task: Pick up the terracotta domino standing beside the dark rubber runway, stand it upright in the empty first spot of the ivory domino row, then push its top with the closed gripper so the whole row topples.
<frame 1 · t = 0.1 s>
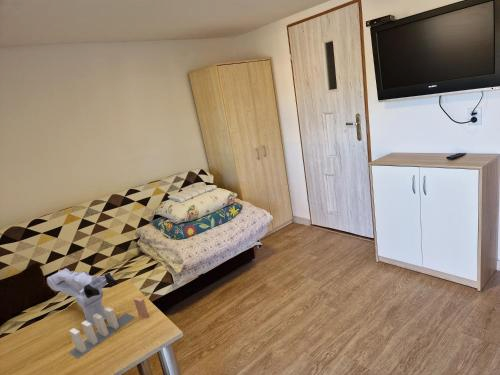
hand: (107, 287, 141), 21 cm above the table, tool horizontal, fingers open, 7 cm apart
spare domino: (143, 316, 154), on the table
domino 5: (81, 349, 139), resting on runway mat
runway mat: (104, 334, 146), on the table
domino 3: (103, 333, 146), resting on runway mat
domino 4: (92, 341, 143), resting on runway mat
domino 2: (114, 326, 150), resting on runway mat
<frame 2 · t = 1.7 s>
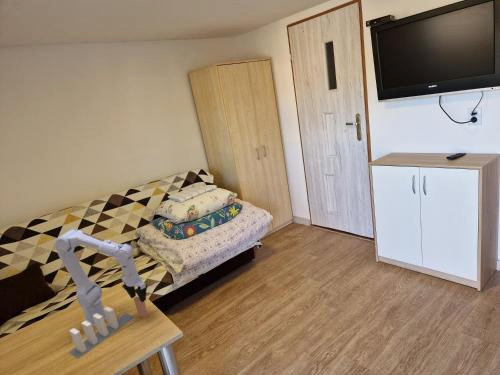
hand: (138, 299, 152), 9 cm above the table, tool pointing down, fingers open, 7 cm apart
nothing on the table moved.
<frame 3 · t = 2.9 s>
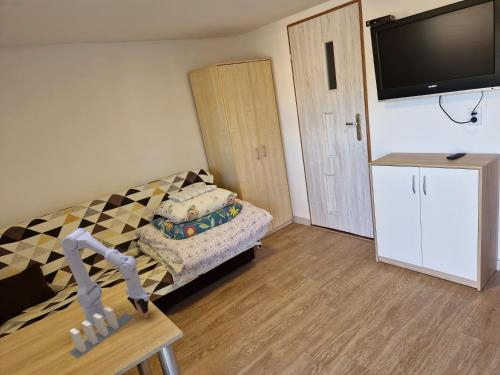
hand: (142, 310, 154), 3 cm above the table, tool pointing down, fingers closed on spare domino, 5 cm apart
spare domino: (143, 316, 154), on the table, touching gripper
everything else where it was.
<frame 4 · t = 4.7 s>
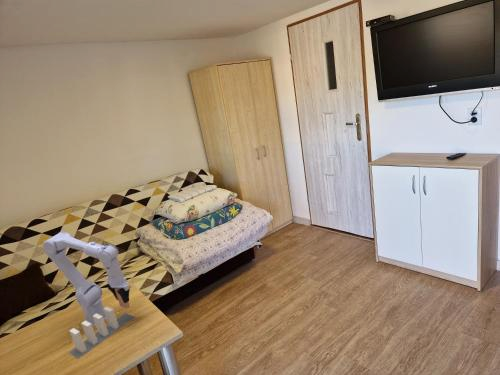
hand: (123, 300, 151), 10 cm above the table, tool pointing down, fingers closed on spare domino, 5 cm apart
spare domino: (125, 306, 152), point 7 cm above the table, touching gripper
everything else where it was.
when the fingers open (4 cm above the table, at t = 6.8 s): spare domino stays where it is, resting on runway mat.
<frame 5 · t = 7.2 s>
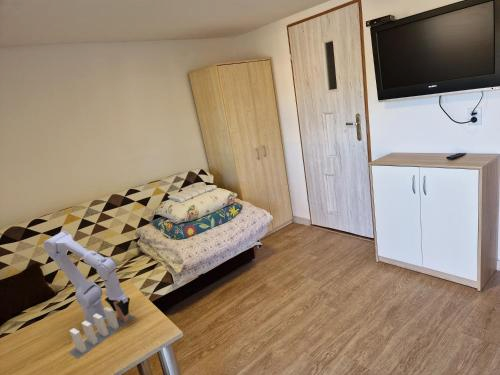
hand: (121, 312, 153), 4 cm above the table, tool pointing down, fingers open, 7 cm apart
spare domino: (123, 319, 154), resting on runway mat
everything else where it was.
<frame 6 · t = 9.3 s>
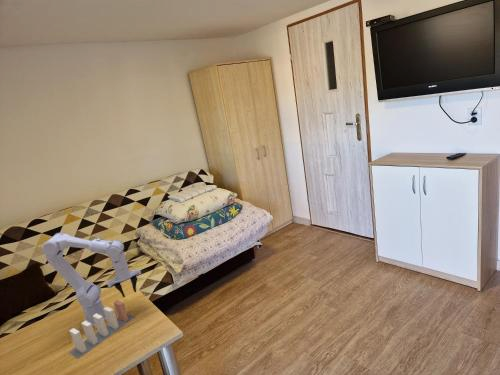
hand: (129, 293, 156), 10 cm above the table, tool pointing down, fingers open, 4 cm apart
nothing on the table moved.
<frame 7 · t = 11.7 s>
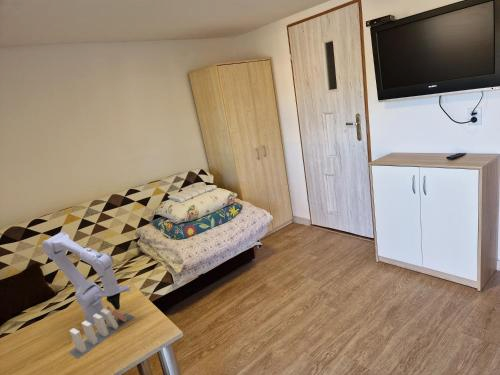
hand: (118, 308, 151), 7 cm above the table, tool pointing down, fingers closed
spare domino: (123, 318, 154), point 1 cm above the table, tilted 30°, touching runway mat
domino 2: (114, 326, 150), point 1 cm above the table, tilted 9°, touching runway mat
everything else where it was.
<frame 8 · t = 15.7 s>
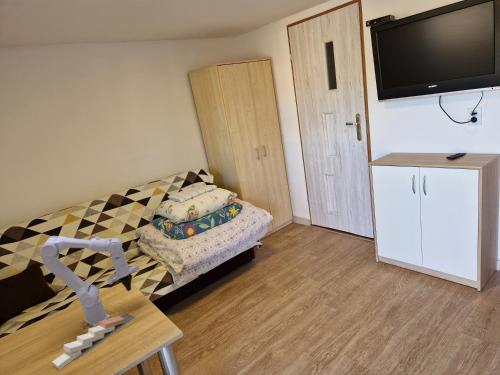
hand: (128, 289, 159), 10 cm above the table, tool pointing down, fingers closed
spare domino: (121, 319, 153), point 1 cm above the table, tilted 69°, touching domino 2, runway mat
domino 5: (78, 349, 138), point 1 cm above the table, tilted 91°, touching domino 4, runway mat
domino 3: (101, 333, 145), point 1 cm above the table, tilted 69°, touching domino 2, domino 4, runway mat
domino 4: (88, 342, 141), point 1 cm above the table, tilted 67°, touching domino 3, domino 5, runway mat
domino 2: (111, 326, 149), point 1 cm above the table, tilted 69°, touching domino 3, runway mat, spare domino
at the end: domino 5 tilted 91°; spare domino tilted 69° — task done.
